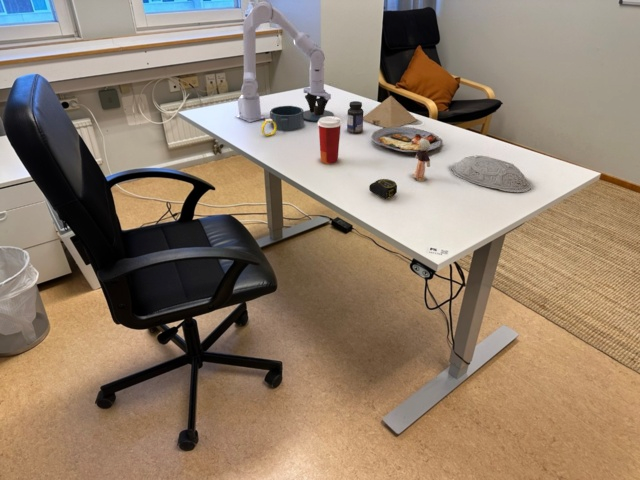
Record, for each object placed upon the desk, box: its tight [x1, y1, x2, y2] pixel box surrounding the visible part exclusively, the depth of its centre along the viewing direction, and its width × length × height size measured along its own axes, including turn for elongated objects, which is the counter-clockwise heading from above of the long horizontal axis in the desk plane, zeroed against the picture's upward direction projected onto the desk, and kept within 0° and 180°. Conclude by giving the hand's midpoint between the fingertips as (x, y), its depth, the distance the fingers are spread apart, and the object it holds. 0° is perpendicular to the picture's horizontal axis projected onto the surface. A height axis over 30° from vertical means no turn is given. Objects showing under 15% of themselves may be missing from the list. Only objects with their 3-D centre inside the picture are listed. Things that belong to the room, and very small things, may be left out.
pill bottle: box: [346, 100, 364, 135], centre depth 170 cm, size 6×6×11 cm
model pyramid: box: [363, 95, 418, 128], centre depth 182 cm, size 17×17×10 cm
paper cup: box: [317, 116, 342, 165], centre depth 145 cm, size 8×8×14 cm
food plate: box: [370, 126, 443, 154], centre depth 161 cm, size 25×23×4 cm
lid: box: [303, 105, 335, 122], centre depth 187 cm, size 14×14×4 cm
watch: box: [260, 118, 277, 137], centre depth 168 cm, size 6×3×6 cm, turn 127°
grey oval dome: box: [450, 154, 532, 193], centre depth 137 cm, size 16×25×7 cm, turn 44°
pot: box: [269, 105, 305, 132], centre depth 177 cm, size 13×18×6 cm
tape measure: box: [368, 178, 398, 200], centre depth 127 cm, size 7×7×4 cm
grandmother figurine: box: [411, 139, 431, 182], centre depth 134 cm, size 8×4×13 cm, turn 29°
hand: (316, 113), depth 187 cm, fingers open, 5 cm apart
